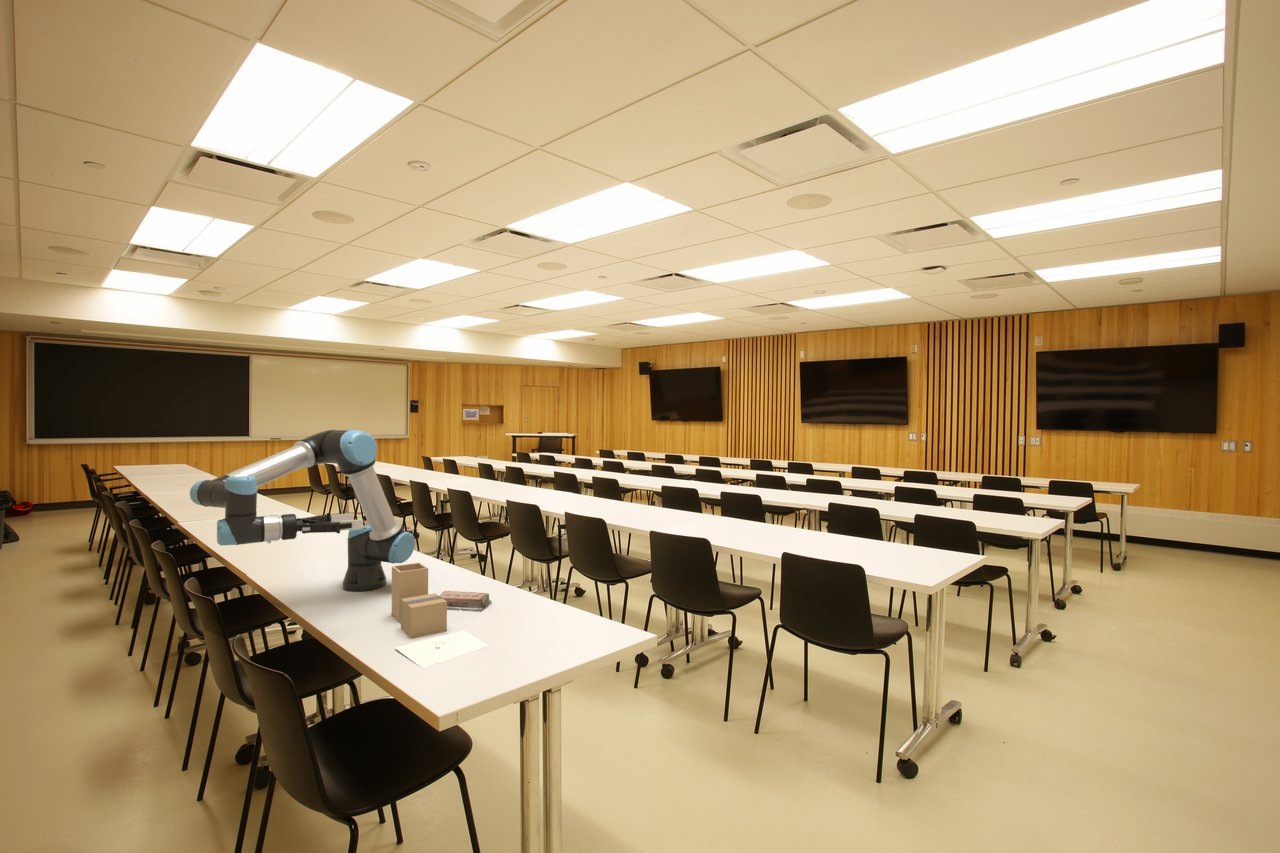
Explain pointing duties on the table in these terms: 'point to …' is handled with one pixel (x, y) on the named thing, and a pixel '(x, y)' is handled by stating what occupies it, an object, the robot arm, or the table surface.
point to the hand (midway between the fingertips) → (358, 520)
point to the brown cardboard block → (423, 615)
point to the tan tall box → (407, 584)
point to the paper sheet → (441, 648)
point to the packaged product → (466, 600)
